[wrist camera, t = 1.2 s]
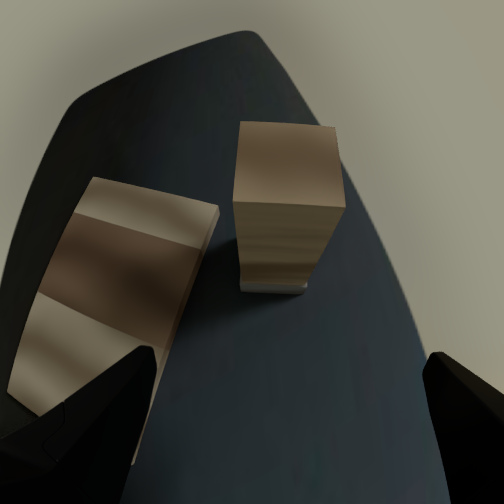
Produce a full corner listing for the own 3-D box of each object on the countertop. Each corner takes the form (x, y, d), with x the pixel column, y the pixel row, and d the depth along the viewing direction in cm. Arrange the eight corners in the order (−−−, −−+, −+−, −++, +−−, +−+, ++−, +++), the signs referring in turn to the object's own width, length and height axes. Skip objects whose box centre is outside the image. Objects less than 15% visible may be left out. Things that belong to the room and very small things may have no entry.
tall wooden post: (303, 294, 24) (349, 210, 12) (240, 291, 24) (228, 204, 12) (302, 237, 26) (337, 125, 14) (244, 235, 26) (237, 119, 14)
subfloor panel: (134, 463, 19) (127, 467, 17) (16, 392, 20) (7, 391, 19) (219, 214, 27) (218, 205, 25) (99, 185, 28) (93, 176, 27)
